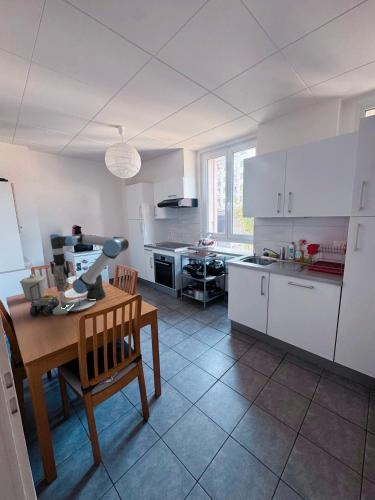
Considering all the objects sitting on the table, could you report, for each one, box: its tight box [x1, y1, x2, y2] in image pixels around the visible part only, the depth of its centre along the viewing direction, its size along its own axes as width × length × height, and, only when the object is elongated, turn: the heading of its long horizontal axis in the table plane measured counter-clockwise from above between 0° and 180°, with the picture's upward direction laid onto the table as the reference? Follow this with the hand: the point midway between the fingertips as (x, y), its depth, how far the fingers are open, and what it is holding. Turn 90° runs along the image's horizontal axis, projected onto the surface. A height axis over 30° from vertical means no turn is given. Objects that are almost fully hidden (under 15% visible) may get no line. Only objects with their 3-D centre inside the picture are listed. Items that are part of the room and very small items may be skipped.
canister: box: [19, 274, 46, 301], centre depth 183 cm, size 18×18×21 cm
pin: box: [59, 292, 67, 308], centre depth 157 cm, size 3×3×12 cm
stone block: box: [53, 263, 70, 293], centre depth 168 cm, size 13×7×20 cm, turn 18°
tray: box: [52, 301, 75, 316], centre depth 158 cm, size 9×13×4 cm
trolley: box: [29, 283, 60, 317], centre depth 154 cm, size 12×16×22 cm
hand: (62, 282), depth 169 cm, fingers closed on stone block, 6 cm apart
